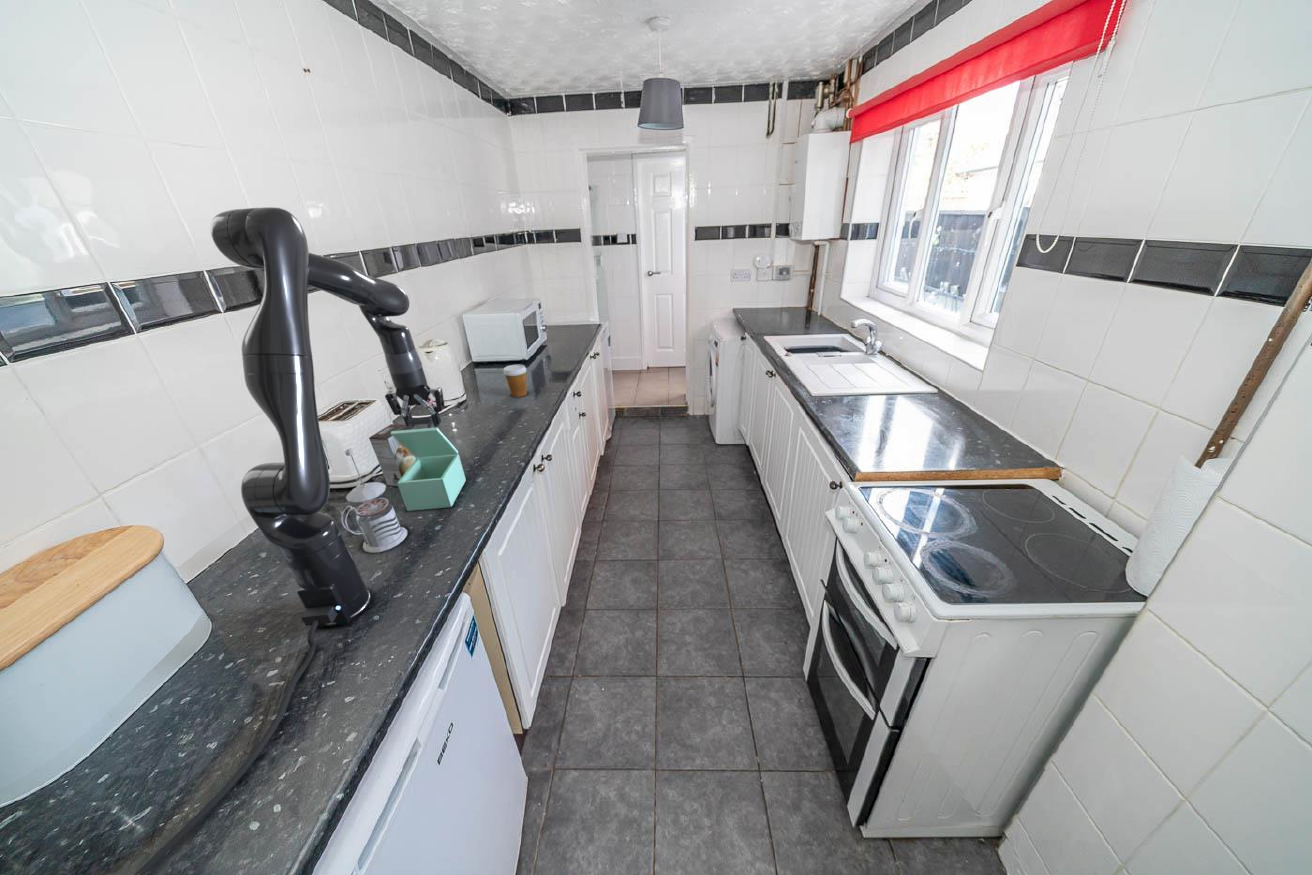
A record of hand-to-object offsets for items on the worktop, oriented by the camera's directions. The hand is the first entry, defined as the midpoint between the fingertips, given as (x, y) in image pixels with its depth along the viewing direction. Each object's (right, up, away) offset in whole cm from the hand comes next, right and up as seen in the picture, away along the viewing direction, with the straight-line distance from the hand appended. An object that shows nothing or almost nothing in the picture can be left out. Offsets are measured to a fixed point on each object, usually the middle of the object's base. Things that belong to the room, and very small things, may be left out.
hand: (424, 426), depth 123 cm
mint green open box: (+1, -19, +5) cm, 20 cm away
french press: (-4, -28, -13) cm, 31 cm away
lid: (0, -5, 0) cm, 5 cm away
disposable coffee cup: (+4, +15, +73) cm, 75 cm away
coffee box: (-13, -15, +14) cm, 24 cm away
